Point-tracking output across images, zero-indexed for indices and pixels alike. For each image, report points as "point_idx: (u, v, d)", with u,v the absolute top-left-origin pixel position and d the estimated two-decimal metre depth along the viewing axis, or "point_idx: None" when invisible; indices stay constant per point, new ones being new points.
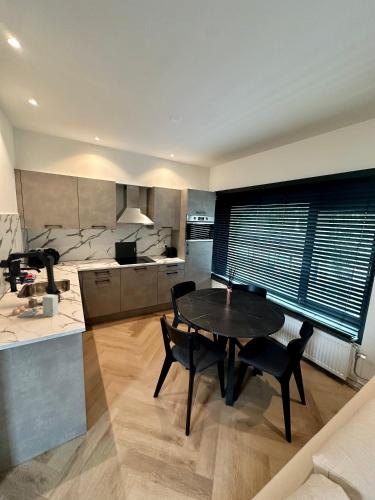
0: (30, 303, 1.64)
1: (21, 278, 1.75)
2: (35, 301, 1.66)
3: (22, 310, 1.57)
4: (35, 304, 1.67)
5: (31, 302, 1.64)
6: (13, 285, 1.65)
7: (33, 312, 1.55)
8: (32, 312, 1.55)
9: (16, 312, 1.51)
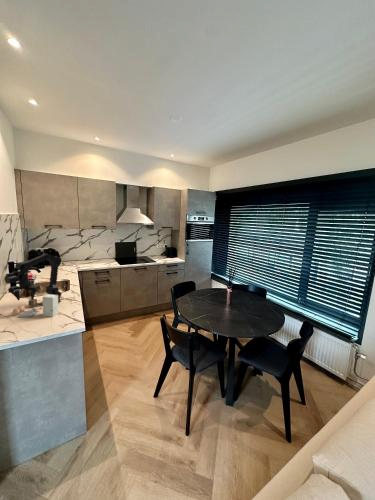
0: (30, 303, 1.64)
1: None
2: (35, 301, 1.66)
3: (22, 310, 1.57)
4: (35, 304, 1.67)
5: (31, 302, 1.64)
6: None
7: (33, 312, 1.55)
8: (32, 312, 1.55)
9: (16, 312, 1.51)
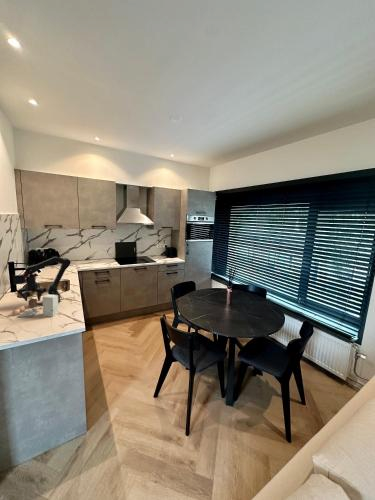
0: (30, 303, 1.64)
1: None
2: (35, 301, 1.66)
3: (22, 310, 1.57)
4: (35, 304, 1.67)
5: (31, 302, 1.64)
6: None
7: (33, 312, 1.55)
8: (32, 312, 1.55)
9: (16, 312, 1.51)
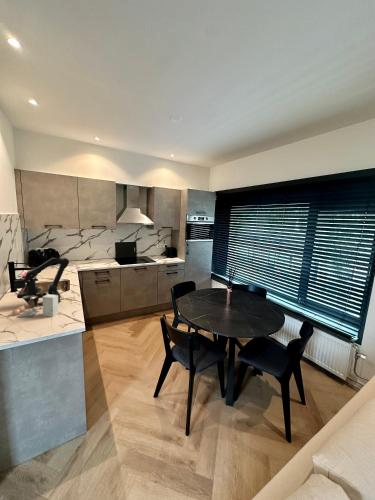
0: (30, 303, 1.64)
1: None
2: None
3: (22, 310, 1.57)
4: None
5: (31, 302, 1.64)
6: None
7: (33, 312, 1.55)
8: (32, 312, 1.55)
9: (16, 312, 1.51)
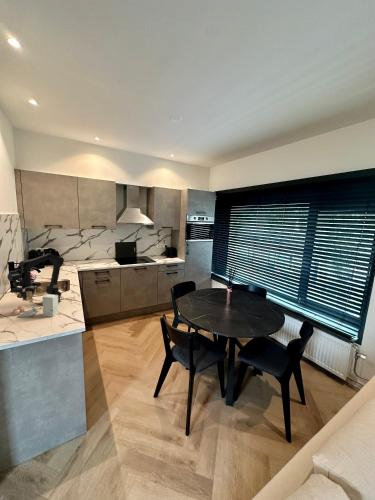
0: (28, 295, 1.54)
1: (30, 290, 1.57)
2: None
3: (22, 310, 1.57)
4: None
5: (29, 293, 1.55)
6: (23, 296, 1.52)
7: (33, 312, 1.55)
8: (32, 312, 1.55)
9: (16, 312, 1.51)
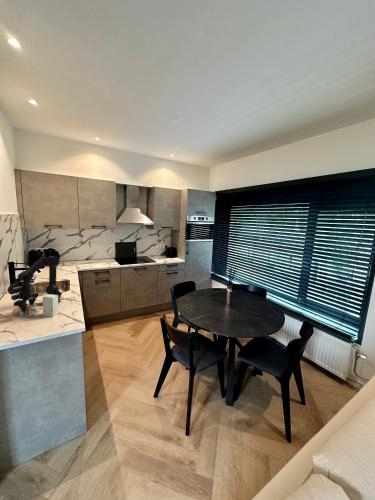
0: (30, 309, 1.53)
1: (30, 300, 1.57)
2: None
3: None
4: None
5: (30, 307, 1.53)
6: (24, 309, 1.48)
7: (33, 312, 1.55)
8: (32, 312, 1.55)
9: (16, 312, 1.51)
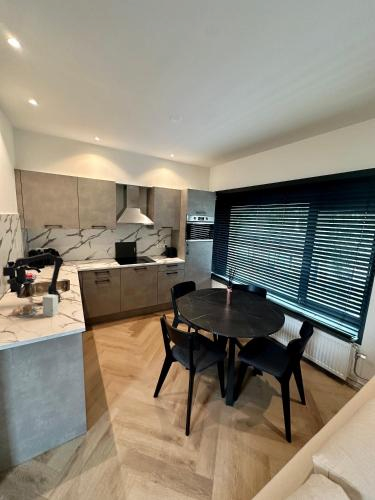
0: (30, 309, 1.53)
1: (26, 285, 1.66)
2: None
3: (22, 310, 1.57)
4: None
5: (30, 307, 1.53)
6: (19, 293, 1.56)
7: (33, 312, 1.55)
8: (32, 312, 1.55)
9: (16, 312, 1.51)
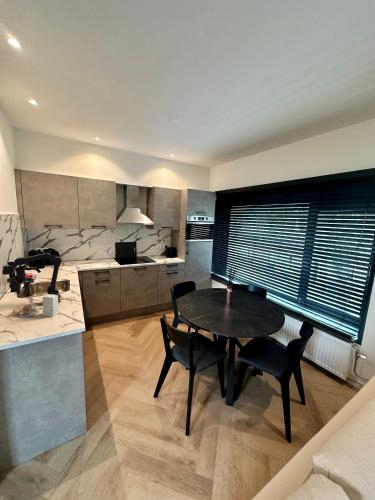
0: (30, 309, 1.53)
1: (25, 284, 1.68)
2: None
3: (22, 310, 1.57)
4: None
5: (30, 307, 1.53)
6: (18, 291, 1.58)
7: (33, 312, 1.55)
8: (32, 312, 1.55)
9: (16, 312, 1.51)
